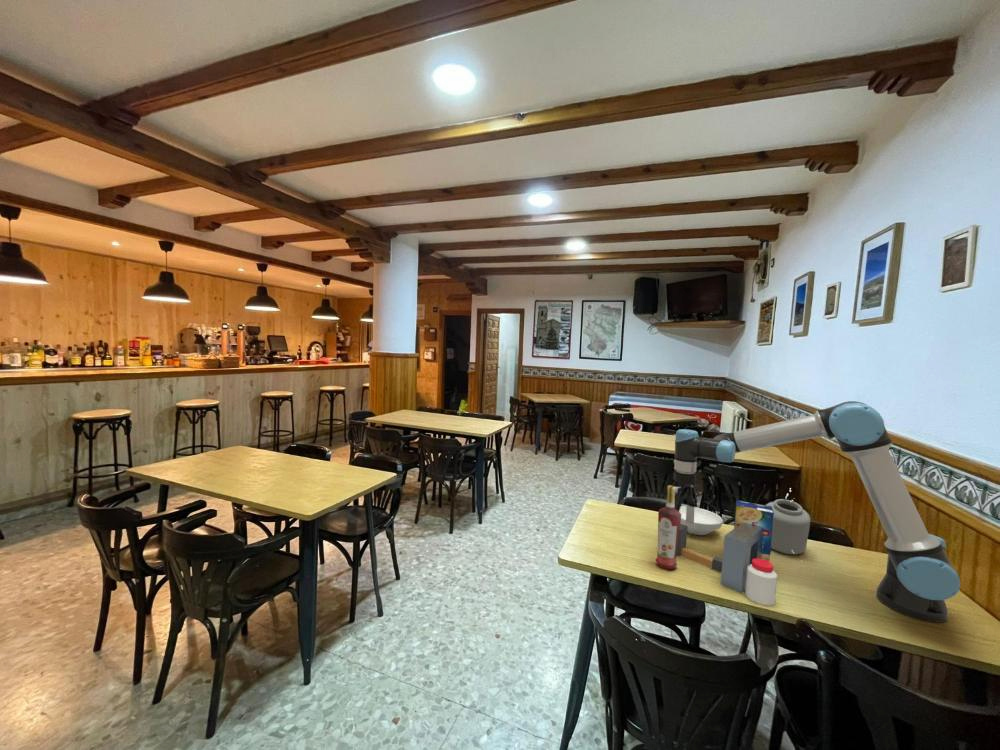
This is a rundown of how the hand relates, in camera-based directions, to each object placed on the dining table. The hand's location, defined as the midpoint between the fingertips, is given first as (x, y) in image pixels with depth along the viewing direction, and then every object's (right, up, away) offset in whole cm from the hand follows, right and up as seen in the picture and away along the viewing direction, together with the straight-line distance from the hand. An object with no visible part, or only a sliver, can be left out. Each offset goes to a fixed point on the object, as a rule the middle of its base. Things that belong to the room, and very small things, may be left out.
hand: (682, 527), depth 151 cm
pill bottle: (+11, -11, -28) cm, 32 cm away
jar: (+42, -11, +6) cm, 44 cm away
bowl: (+14, -9, +20) cm, 26 cm away
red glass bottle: (-11, -9, -11) cm, 18 cm away
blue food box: (+20, -11, -8) cm, 24 cm away
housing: (+12, -11, -17) cm, 23 cm away
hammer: (+2, -9, -5) cm, 11 cm away
